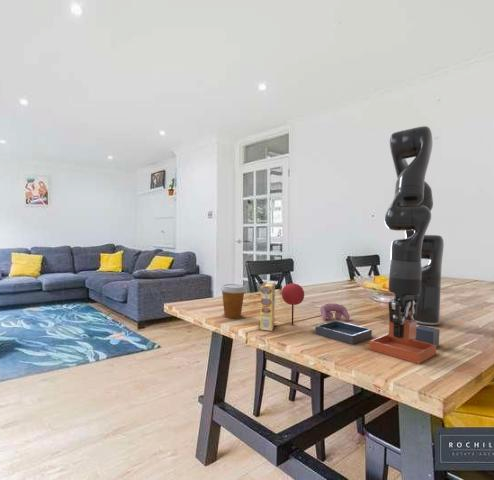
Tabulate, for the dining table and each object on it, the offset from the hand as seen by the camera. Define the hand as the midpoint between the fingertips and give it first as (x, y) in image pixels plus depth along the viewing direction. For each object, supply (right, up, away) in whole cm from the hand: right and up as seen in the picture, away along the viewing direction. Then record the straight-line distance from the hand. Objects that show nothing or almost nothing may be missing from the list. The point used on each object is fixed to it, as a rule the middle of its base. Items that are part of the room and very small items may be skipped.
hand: (402, 335), depth 94 cm
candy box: (-32, -4, +22) cm, 39 cm away
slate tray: (-10, -4, +14) cm, 18 cm away
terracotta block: (0, -1, 0) cm, 1 cm away
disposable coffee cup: (-42, -3, +36) cm, 55 cm away
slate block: (+12, -5, +6) cm, 14 cm away
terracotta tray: (0, -5, 0) cm, 5 cm away
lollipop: (-22, -4, +25) cm, 34 cm away
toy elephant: (-3, -4, +34) cm, 34 cm away
